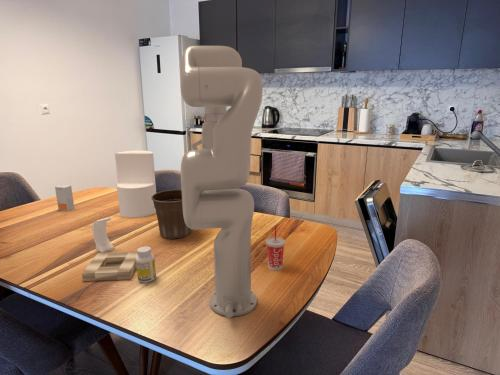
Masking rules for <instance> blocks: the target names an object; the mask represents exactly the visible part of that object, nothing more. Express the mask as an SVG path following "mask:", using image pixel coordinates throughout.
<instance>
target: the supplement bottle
mask: <svg viewBox="0 0 500 375" xmlns="http://www.w3.org/2000/svg"><path fill="white" fill-rule="evenodd" d="M136 252H137V254H138V256H137V257H136V276H137V281H138V282H139V283H150V282H152V281H154V280H155V279H156V277H157V273H156V272H157V271H156V270H157V269H156V264H155V263H156V262H155V255H154V254H153V253H152V248H151V247H150V246H147V245H146V246H141V247H138V248H137V251H136Z"/></svg>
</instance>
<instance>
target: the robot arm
mask: <svg viewBox="0 0 500 375" xmlns="http://www.w3.org/2000/svg"><path fill="white" fill-rule="evenodd" d="M180 91H181V92H180V93H181V97H182V99H183V101H184V103H185V104H186V105H187V106H189V107H192V108H204V114H202V115H200V120H203V121H204V122H203V123H202V127H201V139H200V140H198V141H195V142H194V143H192V144H191V148H192V150H188V151H186V152H185V153H184V155H183V156H182V158H181V163H180V183H181V184H180V185H181V187H180V188H181V189H180V190H182V206H183V217H184V221H185V224H186V225H187V227H189V228H191V230H208V229H220V230H219V231H218V233H217V235H216V236H215V239H214V241H213V263H214V264H213V266H214V267H213V268H214V269H213V270H214V287H215V288H214V290H215V291H214V292H213V293H212V295H210V297H209V305H210V308H211V309H212V310H213V312H215V313H216V314H219V315H222V316H224V317H226V318H227V319H229V318H232V317H239V316H244V315H246V314H249V313H251V312H252V311H253V310H254V309H255V308H256V306H257V303H258V297H257V295H256V293H255V292H254V291H252V256H251V255H252V250H251V249H252V248H251V247H252V246H251V245H252V238H251V237H252V224H253V218H254V212H255V200H254V197H253V195H252V193H250V192H249V191H248V190H246V189H243V188H242V187H244V186H245V185H247V183H248V181H249V179H250V174H251V173H250V171H251V154H252V153H251V152H252V151H251V150H252V132H253V129H254V126H255V123H256V119H257V117H258V115H259V111H260V109H261V104H262V99H263V79H262V77H261V75H260V73H259V72H258V71H256V70H255V69H252V68H249V67H243V61H242V57H241V55H240V53H239V52H238V51H237V50H236V49H235V48H233V47H231V46H226V45H190V46H188V47H187V48H185V49H184V51H183V53H182V55H181V60H180ZM227 107H228V109H227ZM200 145H201V148H199V149H198V146H200Z"/></svg>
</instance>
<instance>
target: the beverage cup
mask: <svg viewBox="0 0 500 375" xmlns="http://www.w3.org/2000/svg"><path fill="white" fill-rule="evenodd" d="M265 244H266V256H267V267H268V269H269V270H272V271H279V270H282V268H283V261H284V251H285V244H286V240H285V239H283V238H282V237H277V226H276V225H274V237H269V238H267V239H266V240H265Z"/></svg>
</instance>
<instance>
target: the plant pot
mask: <svg viewBox="0 0 500 375" xmlns="http://www.w3.org/2000/svg"><path fill="white" fill-rule="evenodd" d="M151 199H152V200H153V203H154V207H155V209H156V213H155V214H156V220H157V225H158V230H159V234H160V236H161V237H162V238H164V239H170V240H175V239H176V238H177V239H183V238H185V237H187V236H189V235H190V234H191V232H192V229H191V228H189V227H187V225H186V224H185V221H184V217H183V206H182V189H167V190H163V191H158V192H156V193H155V194H154V195H152V197H151Z"/></svg>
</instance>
